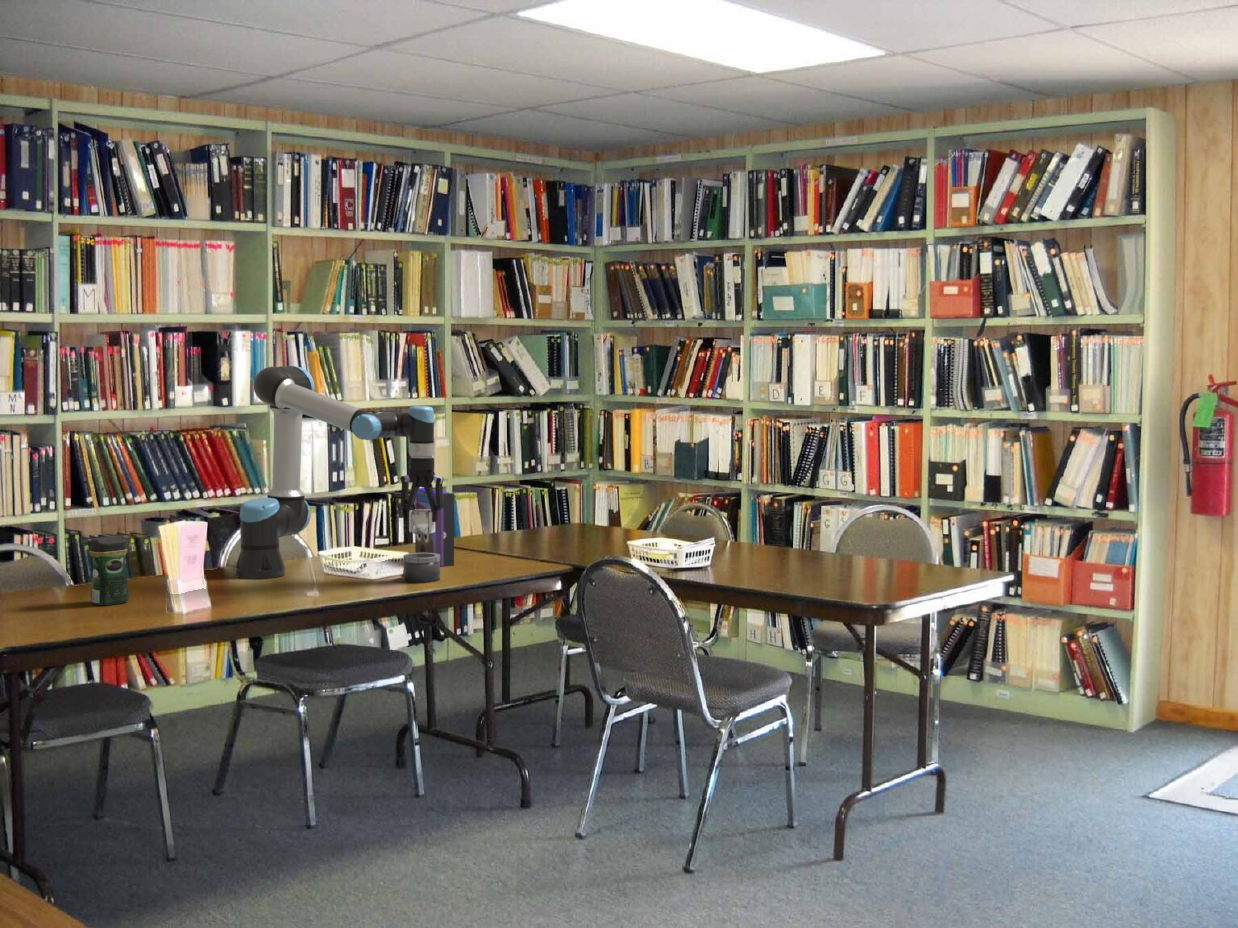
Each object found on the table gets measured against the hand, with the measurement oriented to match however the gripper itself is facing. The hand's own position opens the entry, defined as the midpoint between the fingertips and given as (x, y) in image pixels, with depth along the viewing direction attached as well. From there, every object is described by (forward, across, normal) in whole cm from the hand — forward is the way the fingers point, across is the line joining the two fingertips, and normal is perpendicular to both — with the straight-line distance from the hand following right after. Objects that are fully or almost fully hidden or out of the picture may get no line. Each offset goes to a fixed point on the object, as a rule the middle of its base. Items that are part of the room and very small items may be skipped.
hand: (422, 531), depth 410 cm
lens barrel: (+15, 0, 0) cm, 15 cm away
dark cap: (+15, -6, +6) cm, 17 cm away
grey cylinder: (0, 0, 0) cm, 0 cm away
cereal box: (+15, -10, +30) cm, 35 cm away
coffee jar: (+15, -64, -64) cm, 92 cm away
